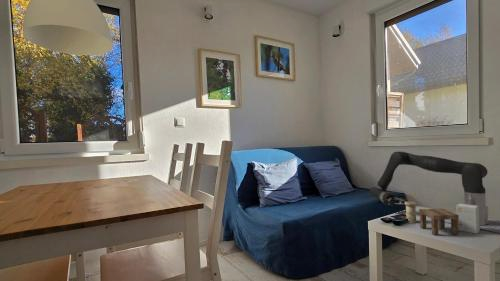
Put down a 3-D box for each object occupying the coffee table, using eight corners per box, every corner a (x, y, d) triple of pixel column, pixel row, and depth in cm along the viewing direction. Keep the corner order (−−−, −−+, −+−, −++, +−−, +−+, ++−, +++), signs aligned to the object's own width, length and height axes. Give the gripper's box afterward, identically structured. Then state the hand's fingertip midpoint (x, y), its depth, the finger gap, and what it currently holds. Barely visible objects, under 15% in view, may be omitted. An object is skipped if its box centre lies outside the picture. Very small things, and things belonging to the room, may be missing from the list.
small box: (479, 231, 136) (479, 205, 136) (476, 234, 132) (476, 208, 132) (460, 227, 142) (459, 203, 142) (456, 230, 138) (456, 205, 138)
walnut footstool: (442, 227, 144) (441, 208, 143) (459, 235, 132) (458, 215, 131) (419, 227, 144) (419, 209, 144) (434, 235, 132) (433, 215, 132)
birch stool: (413, 220, 157) (412, 201, 157) (419, 223, 151) (418, 203, 151) (403, 220, 157) (402, 201, 157) (408, 223, 151) (408, 203, 151)
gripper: (377, 192, 182) (388, 198, 165) (398, 192, 181) (411, 197, 165) (377, 203, 182) (388, 210, 166) (398, 203, 181) (412, 209, 165)
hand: (400, 204), depth 165 cm, fingers open, 8 cm apart
